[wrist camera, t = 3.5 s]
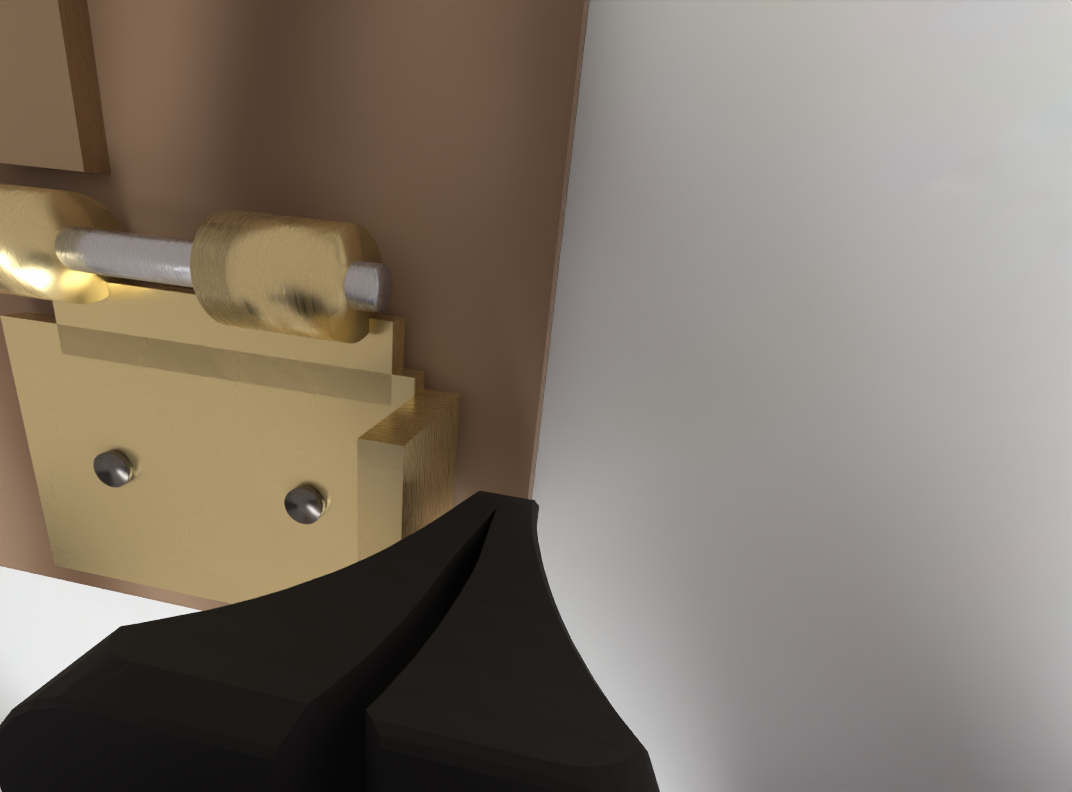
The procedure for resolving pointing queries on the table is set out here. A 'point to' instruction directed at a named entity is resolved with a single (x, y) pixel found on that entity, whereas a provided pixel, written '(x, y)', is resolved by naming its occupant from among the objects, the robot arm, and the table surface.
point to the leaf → (217, 397)
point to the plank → (346, 187)
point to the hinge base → (50, 88)
